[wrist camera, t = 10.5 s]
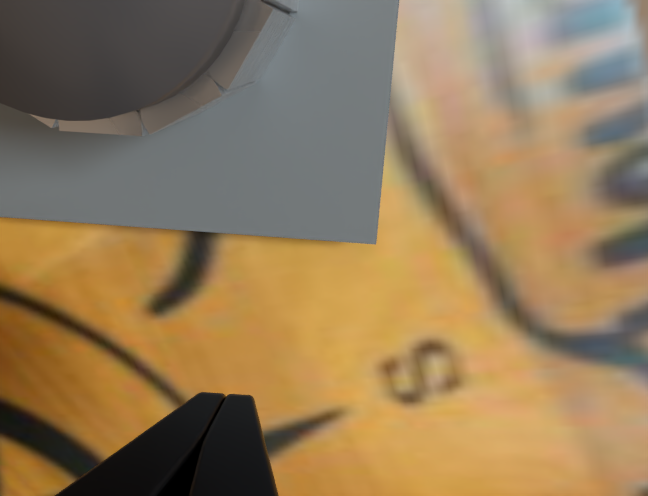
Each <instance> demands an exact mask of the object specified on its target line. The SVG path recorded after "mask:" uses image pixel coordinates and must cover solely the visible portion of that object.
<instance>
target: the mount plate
mask: <svg viewBox="0 0 648 496" xmlns="http://www.w3.org/2000/svg"><path fill="white" fill-rule="evenodd" d="M398 7H399V0H298V12H289V11H286V12H287V13H288V14H290V15H291V16H293V17H294V18H296V20H295V21H294V23H293V25H292V26H291V28H290V30H289V32H288V33H287V35H286V37H285V38H284V40H283V42H282V44H281V45H280V47H279V49H278V50H277V52H276V54H275V56H274V57H273V59H272V61H271V62H270V64H269V66H268V68H267V69H266V71H265V73H264V74H263V76H262V78H261V79H258V80H256V82H257V83H255V84H254V85H252V86H250V87H248V88H246V89H244V90H242V91H241V92H239V93H237V94H235V95H233V96H231V97H229V98H228V99H226V100H224V101H222V102H220V103H218V104H216V105H215V106H213V107H211V108H209V109H207V110H205V111H203V112H202V113H199V114H197V115H195V116H192V117H190V118H188V119H185V120H183V121H181V122H178V123H176V124H174V125H171V126H169V127H167V128H164V129H162V130H160V131H157V132H155V133H153V134H146V135H144V136H130V135H115V134H100V133H85V132H70V131H59V126H58V127H54V128H51V127H49V126H47V125H46V124H44V123H43V122H41V121H39V120H38V119H36V118H34V117H33V116H31V115H30V114H28V113H24V112H21V111H19V110H16V109H14V108H11V107H9V106H6V105H4V104H1V103H0V217H9V218H23V219H37V220H50V221H64V222H78V223H91V224H105V225H119V226H132V227H146V228H160V229H173V230H187V231H201V232H215V233H228V234H242V235H256V236H269V237H283V238H297V239H310V240H324V241H338V242H351V243H365V244H376V239H377V229H378V218H379V208H380V197H381V187H382V176H383V166H384V155H385V145H386V134H387V123H388V113H389V102H390V92H391V81H392V71H393V60H394V50H395V39H396V28H397V18H398Z"/></svg>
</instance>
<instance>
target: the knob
mask: <svg viewBox="0 0 648 496" xmlns="http://www.w3.org/2000/svg"><path fill="white" fill-rule="evenodd" d="M244 3H245V0H0V103H1V104H4V105H6V106H9V107H11V108H14V109H16V110H19V111H21V112H24V113H28V114H32V115H36V116H39V117H43V118H49V119H57V120H65V121H91V120H98V119H105V118H111V117H115V116H118V115H122V114H125V113H128V112H132V111H135V110H139V109H142V108H145V107H149V106H152V105H155V104H158V103H160V102H162V101H164V100H167V99H169V98H171V97H173V96H175V95H176V94H178V93H179V92H181V91H183V90H184V89H186V88H187V87H189V86H190V85H191V84H193V83H194V82H195V81H196V80H197V79H198V78H199V77H200V76H202V75H203V74H204V73H205V72H206V71H207V70H208V69H209V67H210V66H211V65H212V64H213V63H214V61H215V60H216V59H217V58H218V57H219V55H220V54H221V52H222V51H223V49H224V48H225V46H226V44H227V43H228V41H229V40H230V38H231V36H232V34H233V32H234V30H235V27H236V25H237V23H238V21H239V19H240V16H241V13H242V10H243V7H244Z"/></svg>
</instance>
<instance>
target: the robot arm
mask: <svg viewBox="0 0 648 496" xmlns="http://www.w3.org/2000/svg"><path fill="white" fill-rule="evenodd" d="M55 496H278V492H277V488H276V484H275V480H274V476H273V472H272V468H271V464H270V460H269V456H268V452H267V448H266V444H265V440H264V437H263V433H262V429H261V425H260V421H259V417H258V413H257V409H256V405H255V401H254V398H253V397H252V396H251V395H239V394H229V395H227V396H225V395H224V394H222V393H207V392H201V393H199V394H197V395H195V396H194V397H193V398H191V399H190V400H188V401H187V402H186V403H184V404H183V405H181V406H180V407H179V408H177V409H176V410H174V411H173V412H172V413H170V414H169V415H167V416H166V417H165V418H163V419H162V420H160V421H159V422H158V423H156V424H155V425H153V426H152V427H151V428H149V429H148V430H146V431H145V432H144V433H142V434H141V435H139V436H138V437H136V438H135V439H134V440H132V441H131V442H129V443H128V444H127V445H125V446H124V447H122V448H121V449H120V450H118V451H117V452H115V453H114V454H113V455H111V456H110V457H108V458H107V459H106V460H104V461H103V462H101V463H100V464H99V465H97V466H96V467H94V468H93V469H92V470H90V471H89V472H87V473H86V474H85V475H83V476H82V477H80V478H79V479H78V480H76V481H75V482H73V483H72V484H70V485H69V486H68V487H66V488H65V489H63V490H62V491H61V492H59V493H58V494H56V495H55Z"/></svg>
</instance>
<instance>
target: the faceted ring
mask: <svg viewBox="0 0 648 496" xmlns="http://www.w3.org/2000/svg"><path fill="white" fill-rule="evenodd" d="M286 11H289V12H298V0H245V3H244V7H243V10H242V13H241V16H240V19H239V21H238V23H237V25H236V27H235V30H234V32H233V34H232V36H231V38H230V40H229V41H228V43H227V44H226V46H225V48H224V49H223V51H222V52H221V54H220V55H219V57H218V58H217V59H216V60H215V61H214V63H213V64H212V65H211V66H210V67H209V69H208V70H207V71H206V72H205V73H204V74H203V75H202V76H200V77H199V78H198V79H197V80H196V81H195V82H194V83H193V84H191V85H190V86H189V87H187V88H186V89H184V90H183V91H181V92H179V93H178V94H176V95H175V96H173V97H171V98H169V99H167V100H164V101H162V102H160V103H158V104H155V105H152V106H149V107H145V108H142V109H139V110H135V111H132V112H128V113H125V114H122V115H118V116H115V117H111V118H105V119H98V120H91V121H65V120H57V119H49V118H43V117H39V116H36V115H32V114H30V115H31V116H33V117H34V118H36V119H38V120H39V121H41V122H43V123H44V124H46V125H47V126H49V127H51V128H54V127H58V126H59V131H70V132H85V133H100V134H115V135H130V136H144V135H146V134H153V133H155V132H157V131H160V130H162V129H164V128H167V127H169V126H171V125H174V124H176V123H178V122H181V121H183V120H185V119H188V118H190V117H192V116H195V115H197V114H199V113H202V112H203V111H205V110H207V109H209V108H211V107H213V106H215V105H216V104H218V103H220V102H222V101H224V100H226V99H228V98H229V97H231V96H233V95H235V94H237V93H239V92H241V91H242V90H244V89H246V88H248V87H250V86H252V85H254V84H255V83H257V82H256V80H258V79H261V78H262V76H263V74H264V73H265V71H266V69H267V68H268V66H269V64H270V62H271V61H272V59H273V57H274V56H275V54H276V52H277V50H278V49H279V47H280V45H281V44H282V42H283V40H284V38H285V37H286V35H287V33H288V32H289V30H290V28H291V26H292V25H293V23H294V21H295V20H296V18H294V17H293V16H291V15H290V14H288V13H287V12H286Z"/></svg>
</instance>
